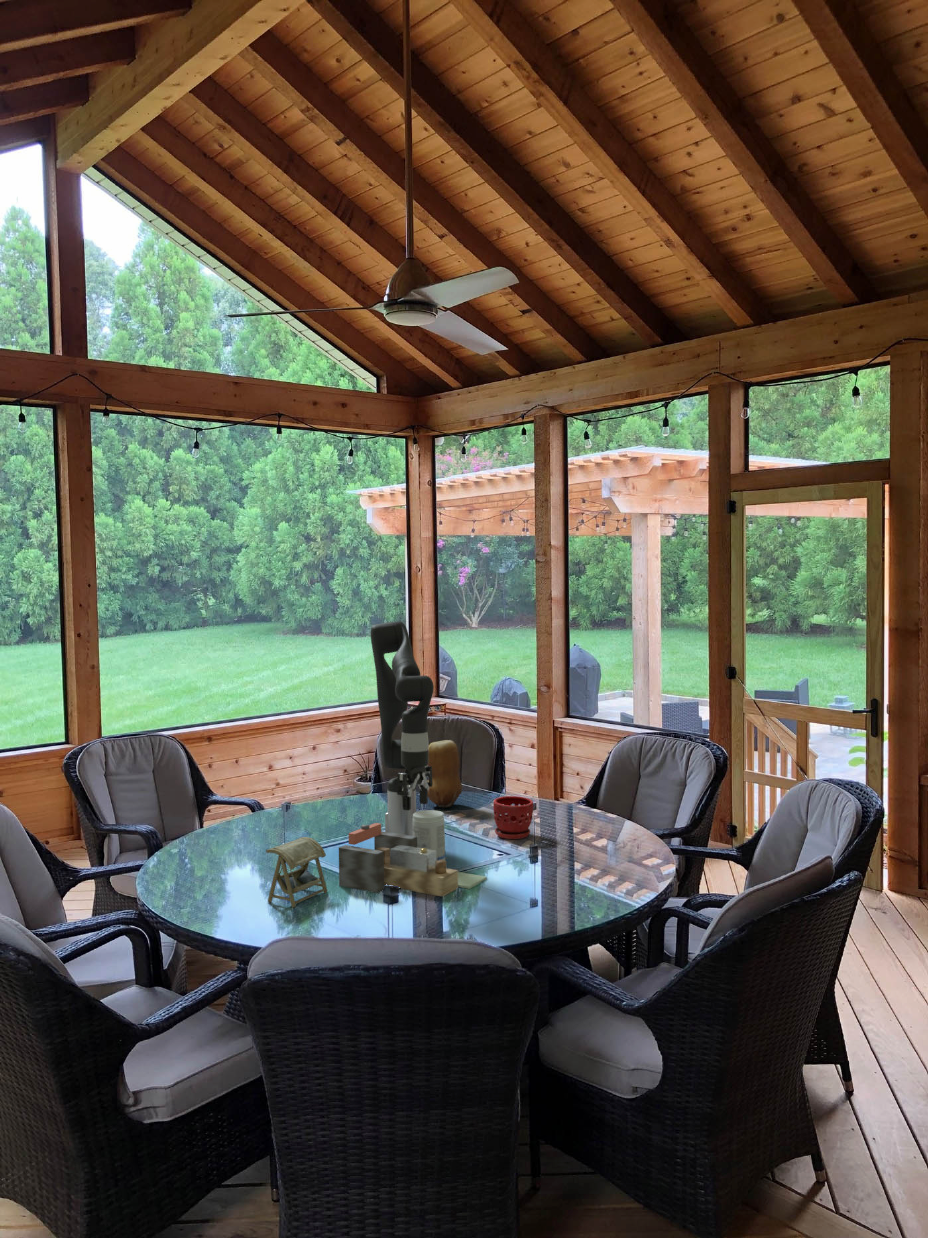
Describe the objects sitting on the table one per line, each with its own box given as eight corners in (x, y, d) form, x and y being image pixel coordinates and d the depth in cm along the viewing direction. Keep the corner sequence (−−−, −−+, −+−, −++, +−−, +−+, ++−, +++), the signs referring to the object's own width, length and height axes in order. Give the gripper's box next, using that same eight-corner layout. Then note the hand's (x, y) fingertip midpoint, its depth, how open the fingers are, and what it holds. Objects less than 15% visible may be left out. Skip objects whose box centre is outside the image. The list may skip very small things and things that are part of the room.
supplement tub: (437, 856, 294) (436, 808, 293) (450, 864, 286) (450, 815, 285) (408, 860, 290) (407, 812, 289) (420, 868, 281) (420, 819, 281)
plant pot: (487, 839, 312) (487, 803, 312) (501, 829, 325) (501, 794, 324) (525, 843, 308) (525, 806, 307) (538, 833, 320) (538, 797, 319)
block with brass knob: (390, 867, 266) (389, 846, 266) (400, 862, 270) (399, 842, 270) (426, 873, 260) (426, 852, 260) (436, 868, 264) (436, 847, 264)
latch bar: (348, 843, 268) (348, 830, 268) (375, 833, 279) (374, 820, 279) (355, 845, 267) (354, 831, 267) (381, 834, 278) (381, 821, 278)
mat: (438, 883, 267) (438, 881, 267) (456, 873, 276) (456, 871, 276) (469, 888, 262) (469, 886, 262) (486, 878, 271) (486, 876, 271)
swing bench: (294, 908, 248) (293, 852, 247) (265, 903, 252) (264, 847, 252) (328, 892, 261) (327, 838, 260) (300, 887, 265) (299, 834, 265)
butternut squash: (425, 803, 363) (424, 737, 362) (460, 802, 365) (460, 737, 364) (428, 812, 350) (427, 744, 349) (464, 811, 351) (464, 743, 350)
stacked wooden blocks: (339, 885, 266) (338, 847, 265) (380, 867, 283) (380, 831, 283) (430, 903, 251) (430, 862, 250) (468, 882, 268) (468, 844, 268)
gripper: (412, 753, 256) (412, 813, 256) (440, 745, 268) (440, 803, 268) (388, 751, 259) (389, 810, 260) (417, 743, 272) (417, 800, 272)
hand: (415, 806), depth 264 cm, fingers open, 8 cm apart
